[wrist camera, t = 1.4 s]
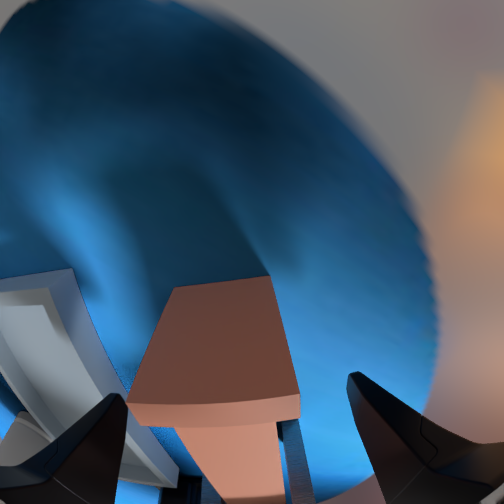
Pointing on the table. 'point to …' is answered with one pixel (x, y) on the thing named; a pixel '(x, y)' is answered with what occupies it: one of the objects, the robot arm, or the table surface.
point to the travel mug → (22, 440)
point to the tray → (68, 367)
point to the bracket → (295, 466)
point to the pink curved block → (222, 384)
